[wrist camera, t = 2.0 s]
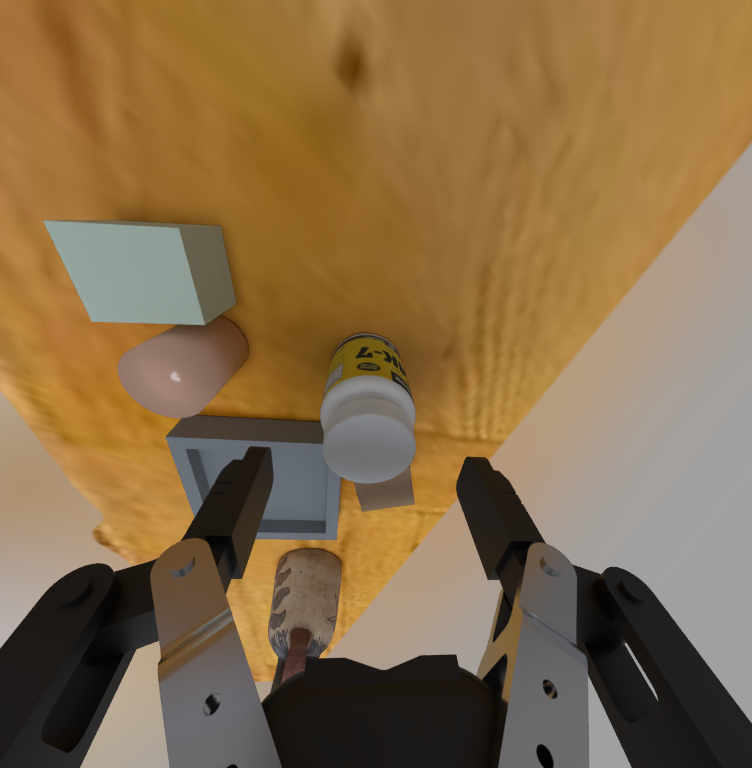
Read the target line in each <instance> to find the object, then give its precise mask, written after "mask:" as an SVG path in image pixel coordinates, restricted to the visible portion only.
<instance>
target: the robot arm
mask: <svg viewBox="0 0 752 768" xmlns="http://www.w3.org/2000/svg"><path fill="white" fill-rule="evenodd" d="M273 480H274V472H273V462H272V452H271V448H270V447H258V446H250V447H249V448H248V449H247V451H246V453H245V455H244V457H243V459H242V460H237V459H233V460H232V461H231V462H230V463H229V464H228V465H226V466H225V467H224V468H223V469H222V470H221V472H220V474H219V475H218V477H217V479H216V481H215V484H213V486H212V488H211V490H210V491H209V495H207V497H206V498H205V500H204V502H203V504H202V505H201V507H200V509H199V511H198V513H197V514H196V516H195V518H194V520H193V521H192V523H191V525H190V527H189V528H188V530H187V532H186V534H185V535H184V537H183V538H182V540H181V541H180V542H178V543H176V544H174V545H172V546H171V547H169V548H168V549H167V550H166V551H164V552H163V553H162V554H161V555H160V557H159V558H157V559H155V560H153V561H150V562H147V563H143V564H140V565H136V566H133V567H129V568H126V569H122V570H119V571H115V572H114V571H113V570H112V569H111V567H110V566H108V565H106V564H101V563H100V564H99V563H96V564H90V565H86V566H83V567H81V568H78V569H76V570H74V571H72V572H70V573H69V574H67V575H65V576H64V577H63V578H61V579H59V580H58V581H57V582H56V583H55V584H53V585H52V586H51V587H50V588H49V589H48V590H47V591H46V592H45V594H44V595H43V596H42V597H41V598H40V599H39V601H38V602H37V603H36V604H35V606H34V607H33V608H32V610H31V611H30V612H29V613H28V615H27V616H26V617H25V618H24V620H23V621H22V622H21V623H20V625H19V626H18V627H17V629H15V631H14V632H13V633H12V635H11V636H10V637H9V638H8V640H7V641H6V642H5V643H4V645H3V646H2V647H1V648H0V768H80V766H81V764H82V762H83V760H84V758H85V756H86V754H87V752H88V750H89V747H90V745H91V743H92V741H93V739H94V737H95V735H96V733H97V731H98V729H99V727H100V724H101V722H102V720H103V718H104V716H105V714H106V712H107V710H108V708H109V706H110V703H111V702H112V699H113V697H114V695H115V693H116V691H117V689H118V687H119V685H120V683H121V681H122V678H123V676H124V674H125V672H126V670H127V668H128V666H129V664H130V662H131V660H132V657H133V655H134V653H135V651H136V649H138V648H141V647H143V646H146V645H149V644H151V643H154V642H157V641H159V643H160V651H161V660H160V661H159V663H158V681H159V689H160V697H161V705H162V712H163V720H164V728H165V735H166V743H167V751H168V758H169V766H170V768H589V731H588V729H589V724H588V675H589V678H590V680H591V682H592V684H593V686H594V688H595V690H596V692H597V694H598V697H599V699H600V701H601V703H602V705H603V707H604V709H605V711H606V714H607V716H608V718H609V720H610V722H611V724H612V726H613V729H614V731H615V733H616V735H617V737H618V739H619V741H620V743H621V746H622V748H623V750H624V752H625V754H626V756H627V758H628V761H629V763H630V765H631V767H632V768H752V723H751V722H750V721H749V719H748V718H747V717H746V715H745V714H744V713H743V711H742V710H741V709H740V707H739V706H738V705H737V703H736V702H735V701H734V699H733V698H732V697H731V695H729V693H728V691H727V690H726V689H725V687H724V686H723V685H722V683H721V682H720V681H719V680H718V678H717V677H716V676H715V674H714V673H713V672H712V670H711V669H710V668H709V666H708V665H707V664H706V662H705V661H704V660H703V658H702V657H701V656H700V654H699V653H698V652H697V650H696V649H695V648H694V646H693V645H692V644H691V642H690V641H689V640H688V639H687V637H686V636H685V634H684V633H683V632H682V630H681V629H680V628H679V626H678V625H677V624H676V622H675V621H674V620H673V618H672V617H671V616H670V614H669V613H668V612H667V611H666V609H665V608H664V607H663V605H662V604H661V602H660V601H659V600H658V598H657V597H656V596H655V595H654V593H653V592H652V591H651V590H650V589H649V587H648V586H647V585H646V584H645V583H644V582H642V581H641V580H640V579H639V578H637V577H636V576H635V575H633V574H631V573H630V572H628V571H626V570H624V569H621V568H618V567H609V568H607V569H606V570H605V571H604V572H603V573H602V574H598V573H596V572H593V571H590V570H587V569H584V568H581V567H578V566H575V565H572V564H571V562H570V561H569V560H568V559H567V558H566V556H565V555H563V554H562V553H561V552H560V551H559V550H557V549H556V548H554V547H552V546H550V545H548V544H546V543H545V541H544V539H543V538H542V536H541V534H540V533H539V531H538V529H537V528H536V526H535V524H534V523H533V521H532V519H531V517H530V516H529V514H528V512H527V511H526V509H525V507H524V505H523V504H521V500H520V499H519V497H518V495H516V492H515V490H514V488H513V487H512V485H511V483H510V482H509V480H507V478H505V477H504V476H503V475H502V474H501V473H500V472H499V471H494V470H493V468H492V466H491V464H490V462H489V461H488V459H487V458H485V457H466V459H465V461H464V464H463V466H462V469H461V472H460V474H459V477H458V480H457V485H456V490H457V496H458V499H459V502H460V504H461V507H462V510H463V512H464V515H465V518H466V521H467V523H468V526H469V529H470V532H471V534H472V537H473V540H474V543H475V545H476V548H477V551H478V554H479V556H480V559H481V562H482V565H483V568H484V570H485V573H486V576H487V579H488V580H500V582H501V585H502V587H503V588H502V590H501V592H500V595H499V599H498V604H497V608H496V612H495V616H494V621H493V625H492V629H491V633H490V637H489V641H488V645H487V648H486V651H485V653H484V655H483V658H482V660H481V662H480V666H479V668H478V672H477V675H476V676H475V675H474V674H472V673H471V672H469V671H467V670H465V669H463V668H461V667H459V665H458V661H457V656H456V655H422V656H418V657H416V658H414V659H412V660H409V661H407V662H404V663H402V664H400V665H397V666H395V667H392V668H390V669H387V670H379V669H377V668H373V667H371V666H368V665H365V664H362V663H359V662H356V661H353V660H350V659H347V658H319V659H306V666H305V670H304V671H301V672H299V673H296V674H295V675H293V676H291V677H289V678H288V679H286V680H285V681H284V682H282V683H281V684H280V685H278V686H277V687H276V688H275V689H274V690H273V691H272V692H271V693H270V694H269V695H268V696H267V697H266V698H265V699H264V700H263V702H262V703H261V702H260V698H259V696H258V692H257V689H256V686H255V683H254V680H253V677H252V674H251V671H250V668H249V665H248V662H247V659H246V655H245V652H244V649H243V646H242V643H241V640H240V637H239V634H238V631H237V628H236V625H235V622H234V619H233V616H232V613H231V610H230V607H229V604H228V600H227V597H226V593H227V590H228V587H229V584H230V582H231V579H242V577H243V574H244V571H245V568H246V565H247V562H248V559H249V556H250V553H251V550H252V547H253V544H254V541H255V538H256V535H257V532H258V529H259V526H260V523H261V520H262V517H263V514H264V511H265V508H266V505H267V502H268V499H269V496H270V493H271V490H272V486H273ZM625 643H627V644H628V646H629V647H630V649H631V650H632V652H633V654H634V656H635V657H636V659H637V661H638V662H639V664H640V665H641V667H642V669H643V671H644V672H645V674H646V676H647V677H648V679H649V681H650V682H651V684H652V686H653V688H654V689H655V692H656V694H657V697H658V701H657V699H656V698H655V696H654V694H653V692H652V690H651V689H650V687H649V685H648V684H647V682H646V680H645V679H644V677H643V675H642V673H641V672H640V670H639V668H638V667H637V665H636V663H635V662H634V660H633V658H632V656H631V655H630V653H629V651H628V650H627V648H626V646H625V645H624V644H625Z"/></svg>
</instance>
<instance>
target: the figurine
mask: <svg viewBox="0 0 752 768" xmlns="http://www.w3.org/2000/svg"><path fill="white" fill-rule="evenodd" d="M340 586H341V564H340V561H339V560H338V558H337V557H336V556H334V555H333V554H331V553H329V552H327V551H324V550H320V549H310V548H308V549H298V550H295V551H291V552H289V553H286V554H285V555H284V556H283V558H282V559H281V560H280V561H279V564H278V566H277V570H276V575H275V582H274V592H273V599H272V606H271V614H270V619H269V627H268V636H269V642H270V644H271V646H272V649H273V650H274V652H275V653H276V655H277V656H278V663H277V668H276V673H275V677H274V681H273V684H272V688H271V692H272V691H273V690H274V689H275V688H276V687H277V686H278V685H280V684H281V683H282V682H284V681H285V680H286V679H288V678H289V677H291V676H293V675H295V674H296V673H299V672H301V671H304V670H305V666H306V659H319V657H320V654H321V653H322V652H323V651H324V650H325V649H326V648H327V646H328V645H329V643H330V641H331V639H332V636H333V633H334V629H335V625H336V619H337V611H338V601H339V593H340ZM271 692H270V693H271Z"/></svg>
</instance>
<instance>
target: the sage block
mask: <svg viewBox="0 0 752 768" xmlns="http://www.w3.org/2000/svg"><path fill="white" fill-rule="evenodd" d="M43 222H44V224H45V226H46V228H47V230H48V232H49V234H50V236H51V238H52V240H53V242H54V244H55V246H56V248H57V251H58V253H59V255H60V257H61V259H62V261H63V263H64V265H65V267H66V269H67V271H68V273H69V275H70V277H71V279H72V282H73V284H74V286H75V288H76V290H77V292H78V294H79V296H80V298H81V300H82V302H83V304H84V306H85V308H86V310H87V313H88V315H89V317H90V319H91V321H93V322H125V323H156V324H188V325H206V324H207V323H209V322H210V321H212V320H213V319H215V318H216V317H218V316H219V315H220V314H222V313H223V312H225V311H226V310H228V309H229V308H231V307H232V306H234V305H235V304H236V299H235V294H234V289H233V284H232V279H231V275H230V270H229V265H228V260H227V255H226V250H225V245H224V240H223V235H222V231H221V226H209V225H191V224H173V223H156V222H138V221H120V220H58V221H43Z"/></svg>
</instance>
